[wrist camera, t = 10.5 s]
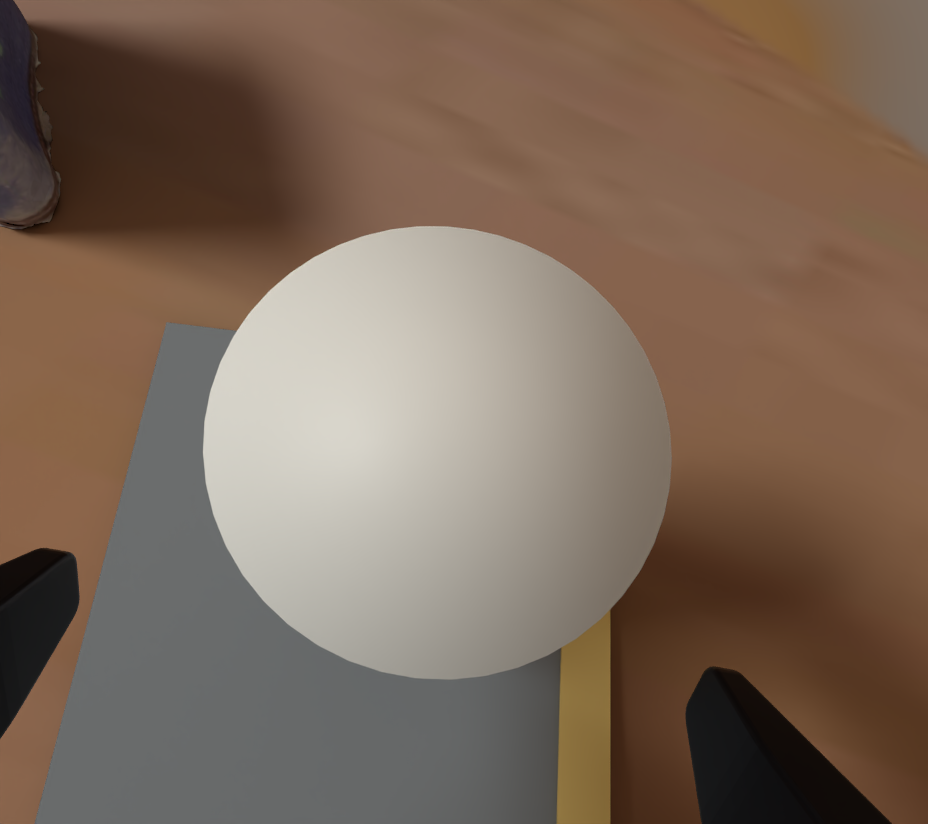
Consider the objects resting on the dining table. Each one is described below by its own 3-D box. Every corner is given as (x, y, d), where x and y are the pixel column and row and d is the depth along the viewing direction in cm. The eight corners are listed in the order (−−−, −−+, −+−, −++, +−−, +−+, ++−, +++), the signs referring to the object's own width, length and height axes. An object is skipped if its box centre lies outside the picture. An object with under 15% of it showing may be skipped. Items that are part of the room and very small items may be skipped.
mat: (601, 1080, 14) (610, 1099, 14) (-21, 1072, 13) (-39, 1093, 13) (604, 381, 20) (610, 375, 20) (171, 329, 19) (165, 320, 18)
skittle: (511, 590, 17) (754, 553, 6) (358, 661, 16) (297, 778, 5) (449, 445, 18) (552, 181, 7) (302, 503, 17) (145, 299, 6)
